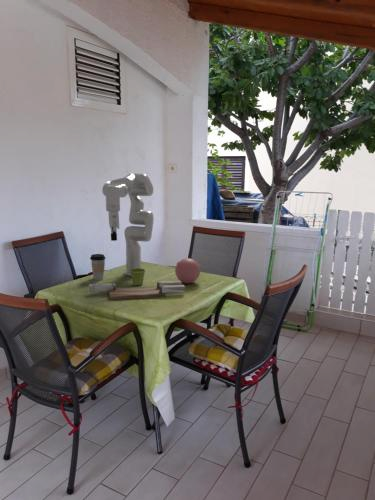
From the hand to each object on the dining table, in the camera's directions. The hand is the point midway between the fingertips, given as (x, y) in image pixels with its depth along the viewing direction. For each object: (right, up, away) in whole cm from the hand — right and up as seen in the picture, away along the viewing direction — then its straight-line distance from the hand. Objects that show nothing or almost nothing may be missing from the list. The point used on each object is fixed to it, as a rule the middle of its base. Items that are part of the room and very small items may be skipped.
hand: (114, 240), depth 228 cm
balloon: (+40, -25, +25) cm, 54 cm away
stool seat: (+19, -30, 0) cm, 35 cm away
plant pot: (+11, -26, +17) cm, 33 cm away
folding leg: (-6, -28, -2) cm, 28 cm away
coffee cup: (-15, -24, +26) cm, 38 cm away
